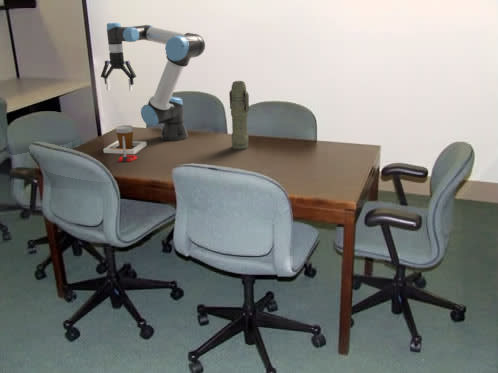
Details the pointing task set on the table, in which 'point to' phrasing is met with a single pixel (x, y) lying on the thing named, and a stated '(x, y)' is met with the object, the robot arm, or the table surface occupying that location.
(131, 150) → the holder frame
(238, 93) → the olive green statue
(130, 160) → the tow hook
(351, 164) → the table surface
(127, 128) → the disposable coffee cup
